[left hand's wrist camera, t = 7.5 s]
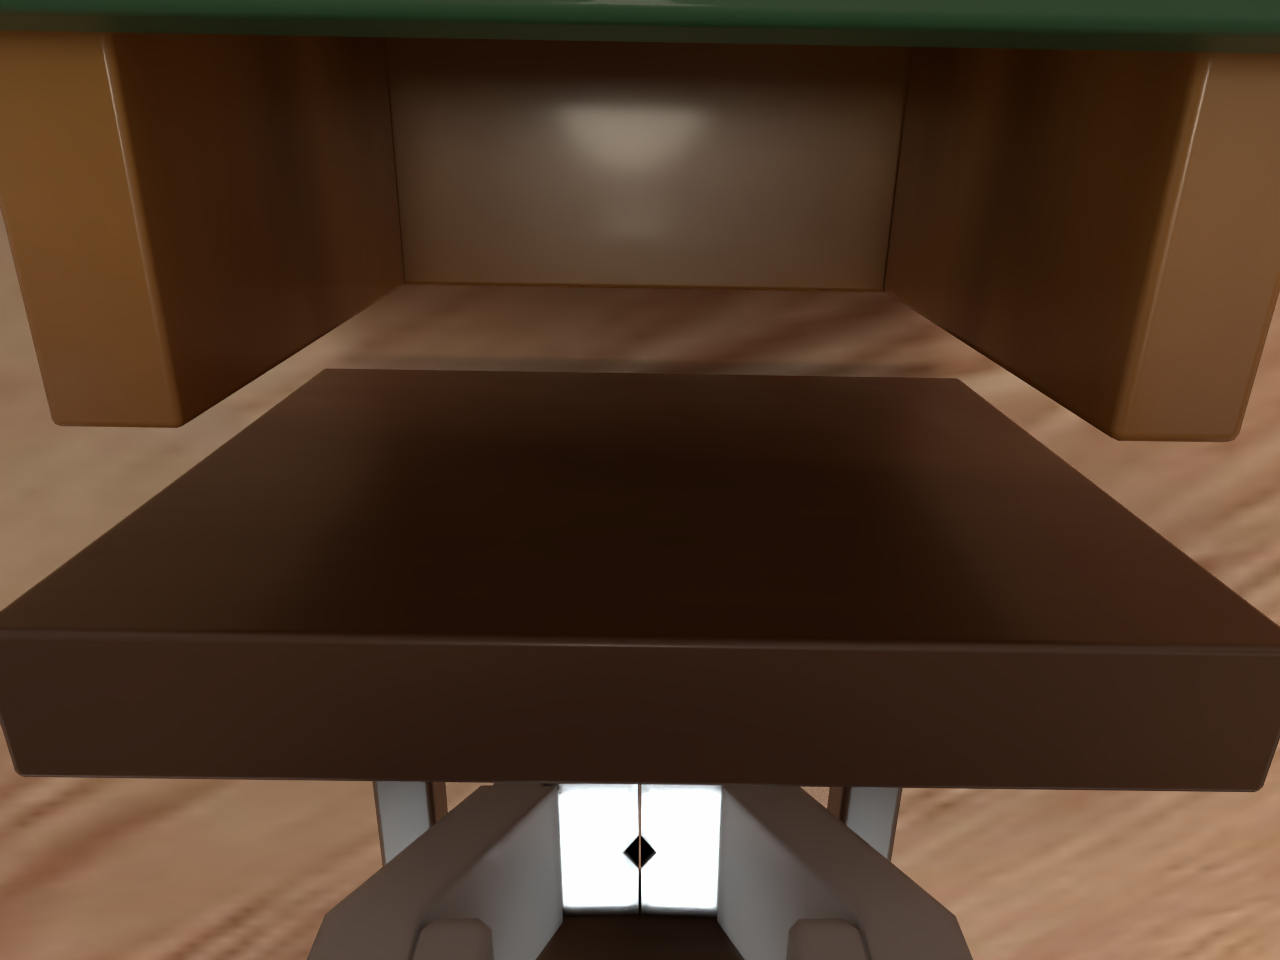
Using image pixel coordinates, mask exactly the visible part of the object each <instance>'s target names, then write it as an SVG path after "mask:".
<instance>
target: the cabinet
mask: <svg viewBox="0 0 1280 960" xmlns="http://www.w3.org/2000/svg"><path fill="white" fill-rule="evenodd" d="M0 30H15V31H70V32H125V33H180V34H235V35H290V36H345V37H400V38H456V39H511V40H566V41H621V42H676V43H731V44H786V45H841V46H896V47H951V48H1006V49H1061V50H1116V51H1171V52H1226V53H1280V0H0Z"/></svg>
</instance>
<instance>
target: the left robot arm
mask: <svg viewBox="0 0 1280 960" xmlns="http://www.w3.org/2000/svg"><path fill="white" fill-rule="evenodd" d="M638 885H639V784H570V783H494V784H493V786H480V787H479V788H478V789H476V790H475V791H474V792H473V793H472V794H470V795H469V796H468V797H467V798H466V799H464V800H463V801H462V802H461V803H460V804H458V805H457V806H456V807H455V808H453V809H452V810H451V811H450V812H449V813H447V814H446V815H445V816H444V817H443V818H441V819H440V820H439V821H438V822H437V823H435V824H434V825H433V826H432V827H431V828H429V829H428V830H427V831H426V832H425V833H423V834H422V835H421V836H420V837H418V838H417V839H416V840H415V841H414V842H412V843H411V844H410V845H409V846H408V847H406V848H405V849H404V850H403V851H402V852H400V853H399V854H398V855H397V856H396V857H394V858H393V859H392V860H391V861H390V862H388V863H387V864H386V865H385V866H383V867H382V868H381V869H380V870H379V871H377V872H376V873H375V874H374V875H373V876H371V877H370V878H369V879H368V880H367V881H365V882H364V883H363V884H362V885H361V886H359V887H358V888H357V889H356V890H355V891H353V892H352V893H351V894H350V895H348V896H347V897H346V898H345V899H344V900H342V901H341V902H340V903H339V904H338V905H336V906H335V907H334V908H333V909H332V910H330V911H329V912H328V913H327V914H326V915H325V917H324V919H323V922H322V924H321V926H320V929H319V931H318V934H317V936H316V939H315V941H314V944H313V946H312V948H311V951H310V953H309V956H308V958H307V960H536V958H537V957H538V955H539V954H540V953H541V951H542V950H543V949H544V947H545V946H546V944H547V943H548V942H549V940H550V939H551V938H552V936H553V935H554V934H555V932H556V931H557V929H558V928H559V927H560V925H561V924H562V923H563V917H597V916H631V915H638ZM641 899H642V915H646V916H681V917H717V922H718V923H719V925H720V926H721V927H722V929H723V930H724V932H725V933H726V934H727V936H728V937H729V938H730V940H731V941H732V943H733V944H734V945H735V947H736V948H737V949H738V951H739V952H740V954H741V955H742V956H743V958H744V959H745V960H973V959H972V956H971V954H970V951H969V949H968V946H967V944H966V941H965V939H964V936H963V934H962V931H961V929H960V926H959V924H958V921H957V919H956V916H955V915H953V914H952V913H951V912H950V911H949V910H947V909H946V908H945V907H944V906H943V905H941V904H940V903H939V902H938V901H937V900H935V899H934V898H933V897H932V896H931V895H929V894H928V893H927V892H926V891H925V890H923V889H922V888H921V887H920V886H919V885H917V884H916V883H915V882H914V881H913V880H911V879H910V878H909V877H908V876H907V875H905V874H904V873H903V872H902V871H901V870H899V869H898V868H897V867H896V866H895V865H893V864H892V863H891V862H890V861H889V860H887V859H886V858H885V857H884V856H883V855H881V854H880V853H879V852H878V851H877V850H875V849H874V848H873V847H872V846H871V845H869V844H868V843H867V842H866V841H865V840H863V839H862V838H861V837H860V836H859V835H857V834H856V833H855V832H854V831H853V830H851V829H850V828H849V827H848V826H847V825H845V824H844V823H843V822H842V821H841V820H839V819H838V818H837V817H836V816H835V815H833V814H832V813H831V812H830V811H829V810H827V809H826V808H825V807H824V806H823V805H821V804H820V803H819V802H818V801H817V800H815V799H814V798H813V797H812V796H811V795H809V794H808V793H807V792H806V791H805V790H803V789H802V788H801V787H800V786H731V785H651V784H641Z"/></svg>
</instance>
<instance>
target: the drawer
mask: <svg viewBox="0 0 1280 960" xmlns="http://www.w3.org/2000/svg"><path fill="white" fill-rule="evenodd" d="M0 206H1V210H2V214H3V218H4V222H5V227H6V231H7V235H8V239H9V243H10V247H11V251H12V255H13V260H14V264H15V268H16V272H17V276H18V280H19V284H20V288H21V293H22V297H23V301H24V305H25V309H26V313H27V317H28V321H29V326H30V330H31V334H32V338H33V342H34V346H35V350H36V354H37V359H38V363H39V367H40V371H41V375H42V379H43V383H44V388H45V392H46V396H47V400H48V404H49V408H50V412H51V416H52V420H53V421H54V423H55V424H57V425H60V426H92V427H158V428H178V427H180V426H183V425H184V424H186V423H188V422H189V421H191V420H192V419H194V418H195V417H197V416H199V415H200V414H202V413H203V412H205V411H206V410H208V409H209V408H211V407H213V406H214V405H216V404H217V403H219V402H220V401H222V400H224V399H225V398H227V397H228V396H230V395H231V394H233V393H234V392H236V391H238V390H239V389H241V388H242V387H244V386H245V385H247V384H249V383H250V382H252V381H253V380H255V379H256V378H258V377H259V376H261V375H263V374H264V373H266V372H267V371H269V370H270V369H272V368H274V367H275V366H277V365H278V364H280V363H281V362H283V361H284V360H286V359H288V358H289V357H291V356H292V355H294V354H295V353H297V352H299V351H300V350H302V349H303V348H305V347H306V346H308V345H309V344H311V343H313V342H314V341H316V340H317V339H319V338H320V337H322V336H324V335H325V334H327V333H328V332H330V331H331V330H333V329H334V328H336V327H338V326H339V325H341V324H342V323H344V322H345V321H347V320H349V319H350V318H352V317H353V316H355V315H356V314H358V313H359V312H361V311H363V310H364V309H366V308H367V307H369V306H370V305H372V304H373V303H375V302H377V301H378V300H380V299H381V298H383V297H384V296H386V295H388V294H389V293H391V292H392V291H394V290H395V289H397V288H398V287H400V286H402V285H403V284H409V285H470V286H532V287H593V288H655V289H716V290H778V291H839V292H886V293H888V294H889V295H891V296H893V297H894V298H896V299H897V300H899V301H900V302H902V303H903V304H905V305H906V306H908V307H910V308H911V309H913V310H914V311H916V312H917V313H919V314H920V315H922V316H924V317H925V318H927V319H928V320H930V321H931V322H933V323H934V324H936V325H938V326H939V327H941V328H942V329H944V330H945V331H947V332H948V333H950V334H952V335H953V336H955V337H956V338H958V339H959V340H961V341H962V342H964V343H965V344H967V345H969V346H970V347H972V348H973V349H975V350H976V351H978V352H979V353H981V354H983V355H984V356H986V357H987V358H989V359H990V360H992V361H993V362H995V363H997V364H998V365H1000V366H1001V367H1003V368H1004V369H1006V370H1007V371H1009V372H1011V373H1012V374H1014V375H1015V376H1017V377H1018V378H1020V379H1021V380H1023V381H1024V382H1026V383H1028V384H1029V385H1031V386H1032V387H1034V388H1035V389H1037V390H1038V391H1040V392H1042V393H1043V394H1045V395H1046V396H1048V397H1049V398H1051V399H1052V400H1054V401H1056V402H1057V403H1059V404H1060V405H1062V406H1063V407H1065V408H1066V409H1068V410H1070V411H1071V412H1073V413H1074V414H1076V415H1077V416H1079V417H1080V418H1082V419H1083V420H1085V421H1087V422H1088V423H1090V424H1091V425H1093V426H1094V427H1096V428H1097V429H1099V430H1101V431H1102V432H1104V433H1105V434H1107V435H1108V436H1110V437H1112V438H1114V439H1116V440H1118V441H1173V442H1228V441H1231V440H1235V438H1236V437H1237V435H1238V434H1239V432H1240V429H1241V425H1242V422H1243V418H1244V414H1245V411H1246V407H1247V404H1248V400H1249V397H1250V393H1251V390H1252V386H1253V383H1254V379H1255V376H1256V372H1257V369H1258V365H1259V362H1260V358H1261V354H1262V351H1263V347H1264V344H1265V340H1266V337H1267V333H1268V330H1269V326H1270V323H1271V319H1272V316H1273V312H1274V309H1275V305H1276V301H1277V298H1278V294H1279V291H1280V53H1226V52H1171V51H1116V50H1061V49H1006V48H951V47H896V46H841V45H786V44H731V43H676V42H621V41H566V40H511V39H456V38H400V37H345V36H290V35H235V34H180V33H125V32H70V31H15V30H0ZM0 723H1V726H2V729H3V733H4V736H5V739H6V742H7V746H8V749H9V752H10V755H11V759H12V762H13V765H14V769H15V771H16V772H17V773H18V774H19V775H21V776H24V777H89V778H169V779H250V780H330V781H373V789H374V797H375V805H376V814H377V822H378V830H379V839H380V847H381V855H382V864H383V866H385V865H386V864H387V863H388V862H390V861H391V860H392V859H393V858H394V857H396V856H397V855H398V854H399V853H400V852H402V851H403V850H404V849H405V848H406V847H408V846H409V845H410V844H411V843H412V842H414V841H415V840H416V839H417V838H418V837H420V836H421V835H422V834H423V833H425V832H426V831H427V830H428V829H429V828H431V827H432V826H433V825H434V824H435V823H437V822H438V821H439V820H440V819H441V818H443V817H444V816H445V815H446V814H447V813H448V810H447V798H446V785H445V782H490V783H570V784H651V785H731V786H811V787H830V790H829V798H828V806H827V810H829V811H830V812H831V813H832V814H833V815H835V816H836V817H837V818H838V819H839V820H841V821H842V822H843V823H844V824H845V825H847V826H848V827H849V828H850V829H851V830H853V831H854V832H855V833H856V834H857V835H859V836H860V837H861V838H862V839H863V840H865V841H866V842H867V843H868V844H869V845H871V846H872V847H873V848H874V849H875V850H877V851H878V852H879V853H880V854H881V855H883V856H884V857H885V858H886V859H887V860H889V861H890V862H891V856H892V850H893V844H894V837H895V831H896V825H897V819H898V812H899V806H900V800H901V793H902V788H971V789H1052V790H1132V791H1212V792H1255V791H1258V790H1260V789H1261V788H1262V787H1263V785H1264V782H1265V779H1266V776H1267V773H1268V770H1269V768H1270V765H1271V762H1272V759H1273V756H1274V753H1275V750H1276V747H1277V745H1278V742H1279V739H1280V626H1278V625H1277V624H1276V623H1274V622H1273V621H1272V620H1270V619H1269V618H1268V617H1267V616H1265V615H1264V614H1263V613H1261V612H1260V611H1259V610H1257V609H1256V608H1255V607H1254V606H1252V605H1251V604H1250V603H1248V602H1247V601H1246V600H1244V599H1243V598H1242V597H1241V596H1239V595H1238V594H1237V593H1235V592H1234V591H1233V590H1231V589H1230V588H1229V587H1228V586H1226V585H1225V584H1224V583H1222V582H1221V581H1220V580H1218V579H1217V578H1216V577H1215V576H1213V575H1212V574H1211V573H1209V572H1208V571H1207V570H1206V569H1204V568H1203V567H1202V566H1200V565H1199V564H1198V563H1196V562H1195V561H1194V560H1193V559H1191V558H1190V557H1189V556H1187V555H1186V554H1185V553H1183V552H1182V551H1181V550H1180V549H1178V548H1177V547H1176V546H1174V545H1173V544H1172V543H1170V542H1169V541H1168V540H1167V539H1165V538H1164V537H1163V536H1161V535H1160V534H1159V533H1157V532H1156V531H1155V530H1154V529H1152V528H1151V527H1150V526H1148V525H1147V524H1146V523H1144V522H1143V521H1142V520H1141V519H1139V518H1138V517H1137V516H1135V515H1134V514H1133V513H1131V512H1130V511H1129V510H1128V509H1126V508H1125V507H1124V506H1122V505H1121V504H1120V503H1119V502H1117V501H1116V500H1115V499H1113V498H1112V497H1111V496H1109V495H1108V494H1107V493H1106V492H1104V491H1103V490H1102V489H1100V488H1099V487H1098V486H1096V485H1095V484H1094V483H1093V482H1091V481H1090V480H1089V479H1087V478H1086V477H1085V476H1083V475H1082V474H1081V473H1080V472H1078V471H1077V470H1076V469H1074V468H1073V467H1072V466H1070V465H1069V464H1068V463H1067V462H1065V461H1064V460H1063V459H1061V458H1060V457H1059V456H1057V455H1056V454H1055V453H1054V452H1052V451H1051V450H1050V449H1048V448H1047V447H1046V446H1045V445H1043V444H1042V443H1041V442H1039V441H1038V440H1037V439H1035V438H1034V437H1033V436H1032V435H1030V434H1029V433H1028V432H1026V431H1025V430H1024V429H1022V428H1021V427H1020V426H1019V425H1017V424H1016V423H1015V422H1013V421H1012V420H1011V419H1009V418H1008V417H1007V416H1006V415H1004V414H1003V413H1002V412H1000V411H999V410H998V409H996V408H995V407H994V406H993V405H991V404H990V403H989V402H987V401H986V400H985V399H983V398H982V397H981V396H980V395H978V394H977V393H976V392H974V391H973V390H972V389H971V388H969V387H968V386H967V385H965V384H964V383H963V382H961V381H960V380H958V379H955V378H891V377H827V376H763V375H699V374H635V373H571V372H507V371H443V370H379V369H324V370H322V371H321V372H320V373H318V374H317V375H316V376H314V377H313V378H312V379H310V380H309V381H308V382H306V383H305V384H304V385H302V386H301V387H300V388H298V389H297V390H296V391H294V392H293V393H292V394H290V395H289V396H288V397H286V398H285V399H284V400H282V401H281V402H280V403H278V404H277V405H276V406H274V407H273V408H272V409H270V410H269V411H268V412H266V413H265V414H264V415H262V416H261V417H260V418H258V419H257V420H256V421H254V422H253V423H252V424H250V425H249V426H248V427H246V428H245V429H244V430H242V431H241V432H240V433H238V434H237V435H235V436H234V437H233V438H231V439H230V440H229V441H227V442H226V443H225V444H223V445H222V446H221V447H219V448H218V449H217V450H215V451H214V452H213V453H211V454H210V455H209V456H207V457H206V458H205V459H203V460H202V461H201V462H199V463H198V464H197V465H195V466H194V467H193V468H191V469H190V470H189V471H187V472H186V473H185V474H183V475H182V476H181V477H179V478H178V479H177V480H175V481H174V482H173V483H171V484H170V485H169V486H167V487H166V488H165V489H163V490H162V491H161V492H159V493H158V494H157V495H155V496H154V497H153V498H151V499H150V500H149V501H147V502H146V503H145V504H143V505H142V506H141V507H139V508H138V509H137V510H135V511H134V512H133V513H131V514H130V515H129V516H127V517H126V518H125V519H123V520H122V521H121V522H119V523H118V524H117V525H115V526H114V527H113V528H111V529H110V530H109V531H107V532H106V533H105V534H103V535H102V536H101V537H99V538H98V539H97V540H95V541H94V542H93V543H91V544H90V545H88V546H87V547H86V548H84V549H83V550H82V551H80V552H79V553H78V554H76V555H75V556H74V557H72V558H71V559H70V560H68V561H67V562H66V563H64V564H63V565H62V566H60V567H59V568H58V569H56V570H55V571H54V572H52V573H51V574H50V575H48V576H47V577H46V578H44V579H43V580H42V581H40V582H39V583H38V584H36V585H35V586H34V587H32V588H31V589H30V590H28V591H27V592H26V593H24V594H23V595H22V596H20V597H19V598H18V599H16V600H15V601H14V602H12V603H11V604H10V605H8V606H7V607H6V608H4V609H3V610H2V611H0ZM536 960H745V959H744V958H743V956H742V955H741V954H740V952H739V951H738V949H737V948H736V947H735V945H734V944H733V943H732V941H731V940H730V938H729V937H728V936H727V934H726V933H725V932H724V930H723V929H722V927H721V926H720V925H719V923H718V922H717V917H681V916H646V915H642V899H641V868H639V885H638V915H631V916H597V917H563V923H562V924H561V925H560V927H559V928H558V929H557V931H556V932H555V934H554V935H553V936H552V938H551V939H550V940H549V942H548V943H547V944H546V946H545V947H544V949H543V950H542V951H541V953H540V954H539V955H538V957H537V958H536Z"/></svg>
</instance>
